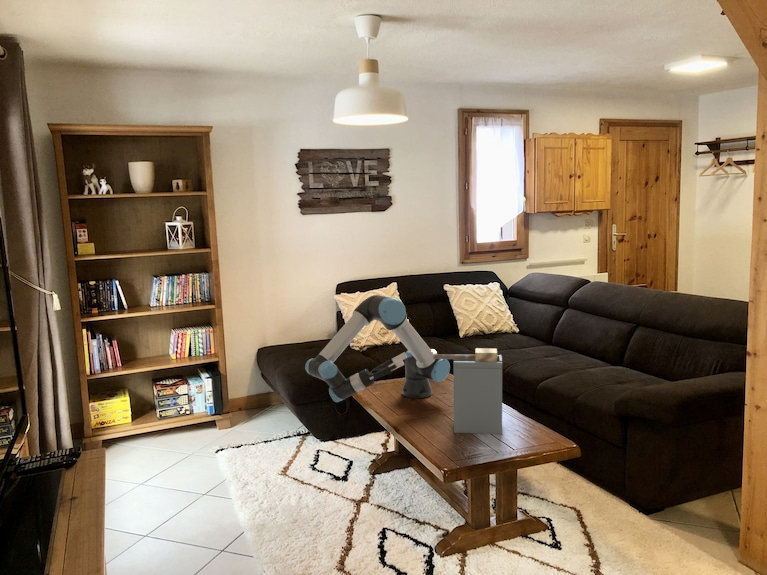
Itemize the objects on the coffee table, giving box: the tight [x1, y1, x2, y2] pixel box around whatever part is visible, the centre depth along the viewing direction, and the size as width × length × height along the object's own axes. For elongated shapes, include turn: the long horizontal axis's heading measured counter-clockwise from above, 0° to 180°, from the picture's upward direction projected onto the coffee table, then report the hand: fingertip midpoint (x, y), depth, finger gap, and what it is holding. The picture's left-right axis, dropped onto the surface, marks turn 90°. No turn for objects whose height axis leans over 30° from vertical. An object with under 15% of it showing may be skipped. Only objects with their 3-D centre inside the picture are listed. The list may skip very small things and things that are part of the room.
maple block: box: [433, 347, 498, 362], centre depth 263 cm, size 27×8×6 cm, turn 81°
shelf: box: [453, 354, 503, 435], centre depth 264 cm, size 20×14×31 cm
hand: (404, 358), depth 268 cm, fingers open, 13 cm apart
